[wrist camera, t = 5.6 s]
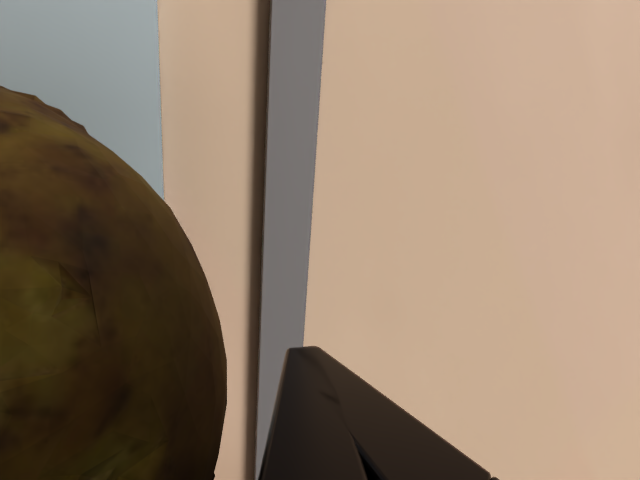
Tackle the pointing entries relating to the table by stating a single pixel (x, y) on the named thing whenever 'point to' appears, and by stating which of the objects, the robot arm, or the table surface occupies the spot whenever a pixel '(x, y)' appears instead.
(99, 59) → the mat
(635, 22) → the table surface
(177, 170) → the table surface
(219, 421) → the potato
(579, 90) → the table surface
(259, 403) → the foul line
